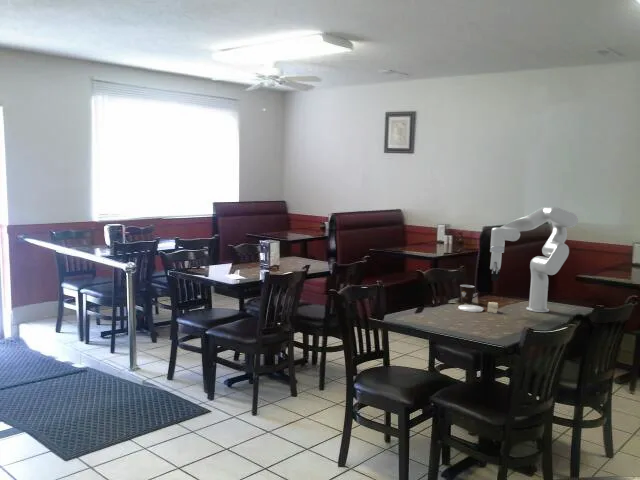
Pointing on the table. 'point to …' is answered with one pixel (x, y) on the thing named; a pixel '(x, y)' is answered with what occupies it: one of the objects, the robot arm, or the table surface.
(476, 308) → the ceramic dish
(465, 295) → the coffee mug
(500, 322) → the table surface
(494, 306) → the maple block
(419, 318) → the table surface
